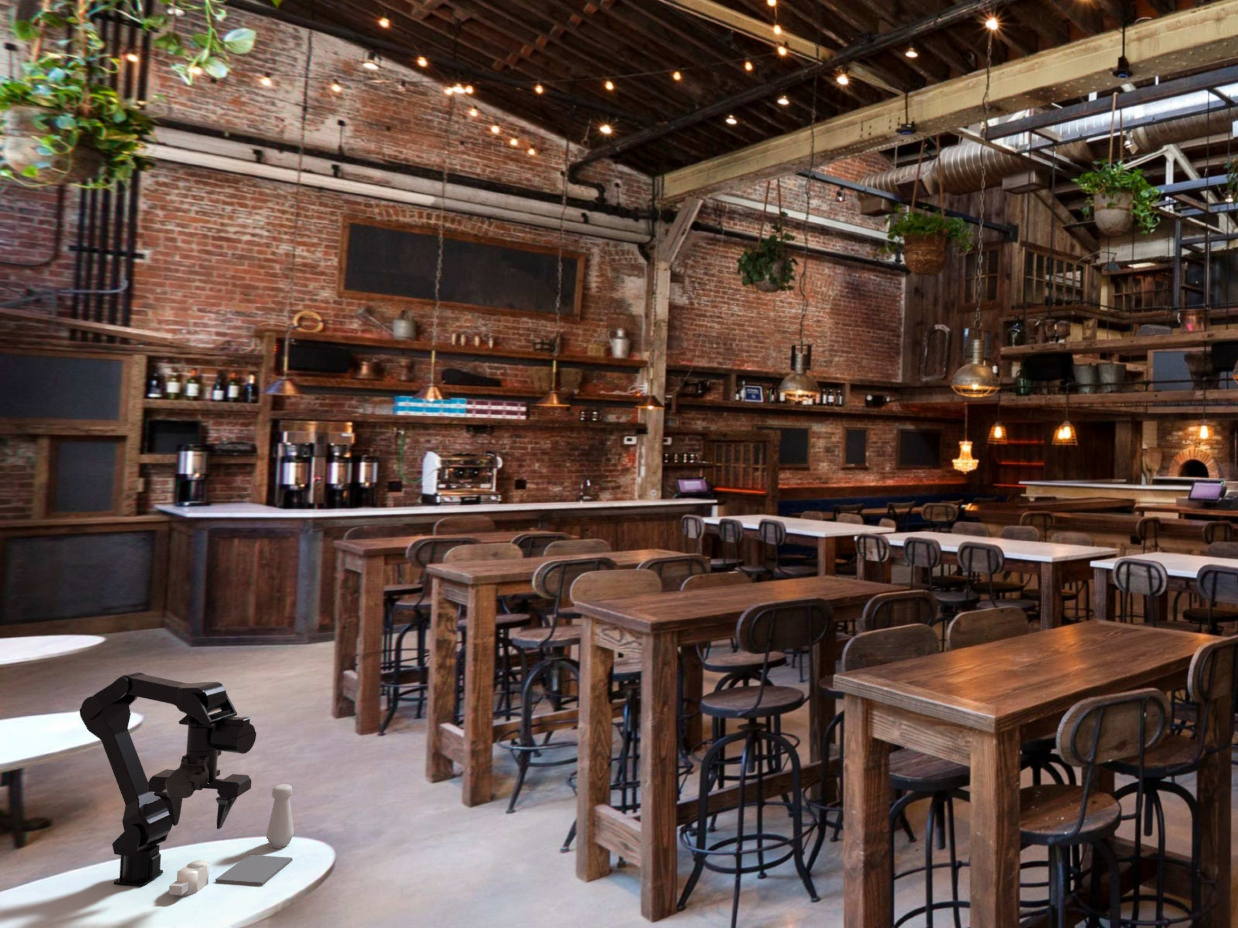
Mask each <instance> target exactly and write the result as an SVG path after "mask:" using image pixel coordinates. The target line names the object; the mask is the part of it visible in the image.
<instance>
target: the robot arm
mask: <svg viewBox="0 0 1238 928" xmlns="http://www.w3.org/2000/svg"><path fill="white" fill-rule="evenodd" d="M138 698H141V699H146V700H152V701H156V702H160V703H165V704H170V705H172V706H176V708H177V710H178V711H179V712H181V713H183V714H186V715H185V716H184V717H182V718H181V719H180V720H179V721H178V724H179V725H182V726H183V725H184V726H187V739H186V753H185V754H184V755H182V756H181V760H180V764H179V767H178V768H177V769H168V768H167V769H164V770H162V771H160V772H159V773H156V774H154V775H152V776H151V777H150V778H149V780H148V778H147V776H146V775H147V774H146V773H145V770H144V768H143V765H142V763H141V762H142V761H141V760H140V758H139V754H138V751H137V749H136V747H135V744H134V742H133V739H132V737H131V734H130V731H129V723H130V719H131V709H130V706H131V705H132V704H133V703H134V702H136V700H137V699H138ZM217 711H218V712H217ZM213 712H214V713H213ZM79 717H80V718H81V720H82V722H83V724H84V726H85V728H86V729H87V731H88V732H90V734H92V735H94V737H96V738H97V739H99V740H100V742H101V744H102V746H103V749H104V751H105V753H106V756H107V759H108V762H109V766H110V767H111V770H112V773H113V775H114V778H115V780H116V784H117V786H118V788H119V791H120V794H121V796H122V800H123V802H124V806H125V807H124V811H123V815H122V822H121V823H122V826H123V832H122V833H121V834H120V835H119V836H118V837H117V838H116V839H115V840H114V841H113V842H112V844H111V846H112V850H113V854H114V855H119V856H120V862H119V877H117V878H116V879H115V880H113V884H114V885H123V886H137V887H143V886H145V885H147V884H149V883H150V882H152V881H153V880H154V879H156V878H157V877H159V876H160V875H162V874H163V873H164V869H161V863H162V862H161V859H162V854H161V853H160V844H161V843H163V842H166V840H167V839H168V837H169V836H168V835H169V833H170V832H171V830H172V827H173V826H174V827H175V826H177V825H179V821H180V817H181V813H182V811H181V810H182V804H183V799H188V798H190V797H192V796H193V795H194V792H195V791H203V789H206V790H207V789H208V790H217V791H216V792H217V794H218V796H217V797H216V798H215V801H216V803H217V815H216V829H217V830H220V829H222V827H223V825H224V823H225V821H226V820H227V817H228V815H229V813H230V811H231V809H232V807H233V805H234V804H235V802H236V800H237V799H238V797H240V796H241V795H243V794H245V793H246V792H248V791H250V790H251V789H252V779H251V777H250V775H249V774H237V773H234V774H233V773H232V774H230V775H229V776H227V777H225V778H223V779H222V778H218V777H219V776H220V775H221V769H218V757H220V756H221V755H222V752H227V753H232V754H243V755H244V754H247V753H249V751H251V749H253V746H254V745H255V743H256V738H257V731H256V728H255V726H254V725H253V724H252V723H250V721H251V718H250V717H248V716H242V717H241V716H240V717H239V716H238V712H237V710H236V708H235V706H234V704H233V702H232V700H231V699H230V697H229V695H228V693H227V691H226V688H225V686H224V684H222V683H221V682H218V681H203V682H202V681H201V682H192V683H191V682H182V681H179V680H178V681H177V680H174V679H173V680H172V679H167V678H163V677H160V676H159V677H158V676H155V675H154V676H153V675H149V674H145V673H144V672H139V671H137V672H133V673H128V674H124V675H123V674H122V675H121V676H119V677H118V678H116V680H115V681H113V682H112V683H111V684H109V685H108V686H106V687H104V688H103V689H101V690H99V691H98V692H96V693H95V694H93V695H92V696H88V697H86V698H85V699H84V700H83V702H82V703H81V706H80V708H79Z"/></svg>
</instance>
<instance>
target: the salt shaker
mask: <svg viewBox="0 0 1238 928" xmlns="http://www.w3.org/2000/svg"><path fill="white" fill-rule="evenodd" d="M292 795H293V787H292V785H291V784H287V783H281V784H276V785H274V786H273V788H272V791H271V797H272V798H273V799H274V800H273V804H272V810H271V813H270V818H269V822H268V826H267V830H266V834H265V837H266V840H267V839H268V840H267V841H268V844H269V845H270V848H272V849H281V848H286V847H288V846H289V844H290V843H291V841H292V839H293V836H294V833H295V828H294V820H293V813H292V805H291V800H290V799H291V798H290V797H291V796H292Z"/></svg>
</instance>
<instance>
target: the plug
mask: <svg viewBox="0 0 1238 928" xmlns="http://www.w3.org/2000/svg"><path fill="white" fill-rule="evenodd" d="M209 869H210V861H208V860H207V859H206V860H204V859H203V860H201V859H200V860H195V861H191V862H190V863H187V864H186V865H184V867H182V868H180V869H178V870H177V871H176V873H177V874H176V880H175V881H173V882H172V883H171V884H169V888H168V894H169V895H175V896H178V897H189V896H193V895H195V894H197V893H198V892H199V891H201V890H203V889H204V888H205V887H207V886H208V884H209V876H210V874H209V871H210V870H209Z"/></svg>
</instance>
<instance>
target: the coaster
mask: <svg viewBox="0 0 1238 928" xmlns="http://www.w3.org/2000/svg"><path fill="white" fill-rule="evenodd" d="M292 861H293V857H288V856H286V857H285V856H273V855H272V856H271V855H261V854H260V855H259V854H247V856H245V857H244V858H242V859H241V860H239V861H238V862H236V864H234V865H233V866H232V867H230V868H229V869H227V870H225V872H223V873H222V874H221V875H220V876H218V877H216V878H215V883H220V884H223V883H224V884H235V885H247V886H249V885H250V886H264V885H265V884H266V883H268V881H270V880H271V879H273V877H275V876H276V875H277V874H278V873H279V872H280V871H282V870H283V869H284V868H285V867H286V866H288V865H289V864H290V863H291V862H292Z"/></svg>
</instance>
